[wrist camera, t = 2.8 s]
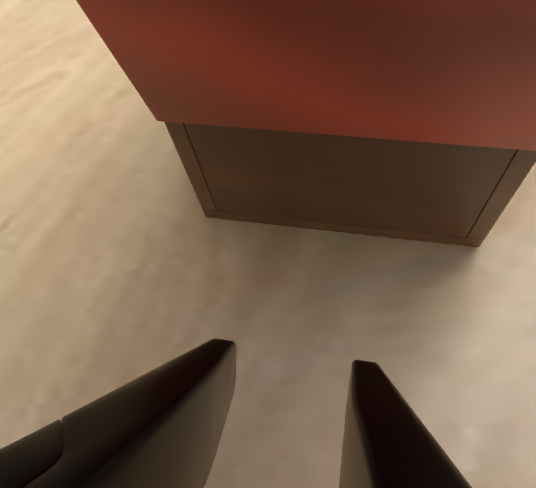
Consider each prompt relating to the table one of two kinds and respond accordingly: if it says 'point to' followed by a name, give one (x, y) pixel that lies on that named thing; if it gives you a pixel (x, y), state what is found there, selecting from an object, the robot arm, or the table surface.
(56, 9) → the table surface
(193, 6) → the lid
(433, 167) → the box
